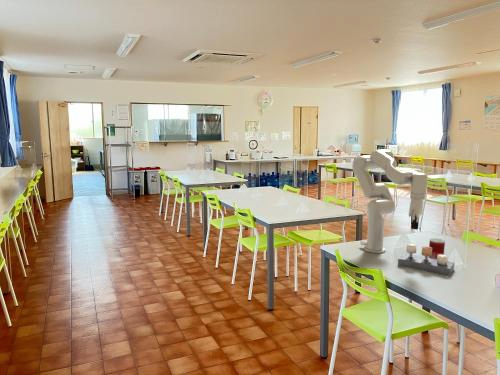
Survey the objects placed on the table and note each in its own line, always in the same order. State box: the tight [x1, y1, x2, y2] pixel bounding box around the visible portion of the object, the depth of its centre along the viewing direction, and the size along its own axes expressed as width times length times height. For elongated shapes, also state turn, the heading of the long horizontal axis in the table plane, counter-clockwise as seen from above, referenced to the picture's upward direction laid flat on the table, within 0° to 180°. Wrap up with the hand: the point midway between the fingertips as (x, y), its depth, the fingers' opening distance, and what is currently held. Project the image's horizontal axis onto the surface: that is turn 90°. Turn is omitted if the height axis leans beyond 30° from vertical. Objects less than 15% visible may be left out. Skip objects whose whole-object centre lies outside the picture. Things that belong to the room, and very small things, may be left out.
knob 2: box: [437, 254, 449, 265], centre depth 218 cm, size 5×5×8 cm
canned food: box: [428, 238, 446, 259], centre depth 238 cm, size 8×8×11 cm
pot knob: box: [421, 245, 432, 261], centre depth 223 cm, size 5×5×8 cm
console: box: [397, 252, 455, 277], centre depth 224 cm, size 26×12×4 cm, turn 54°
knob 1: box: [406, 243, 418, 258], centre depth 227 cm, size 5×5×8 cm
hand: (414, 228), depth 225 cm, fingers closed
